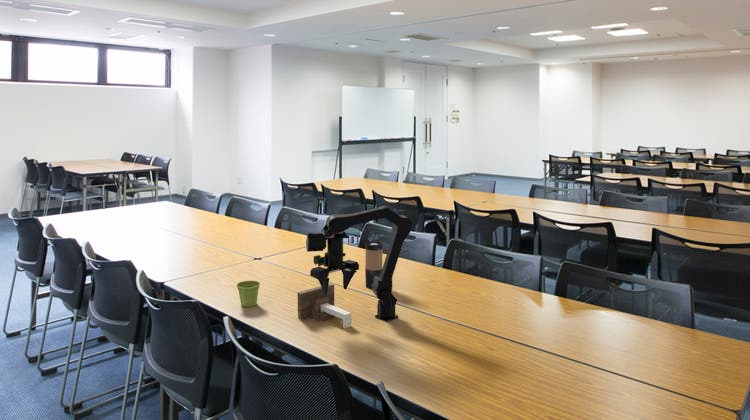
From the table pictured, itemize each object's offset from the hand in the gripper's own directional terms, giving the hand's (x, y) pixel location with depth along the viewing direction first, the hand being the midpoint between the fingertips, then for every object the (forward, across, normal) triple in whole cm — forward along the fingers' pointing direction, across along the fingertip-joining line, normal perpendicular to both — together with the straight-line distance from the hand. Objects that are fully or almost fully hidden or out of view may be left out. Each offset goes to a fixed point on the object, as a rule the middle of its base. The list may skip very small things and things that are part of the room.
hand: (335, 291), depth 189 cm
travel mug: (+12, -39, -20) cm, 46 cm away
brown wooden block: (+12, 0, -8) cm, 14 cm away
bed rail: (+12, 0, 0) cm, 12 cm away
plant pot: (+12, +14, -37) cm, 42 cm away
